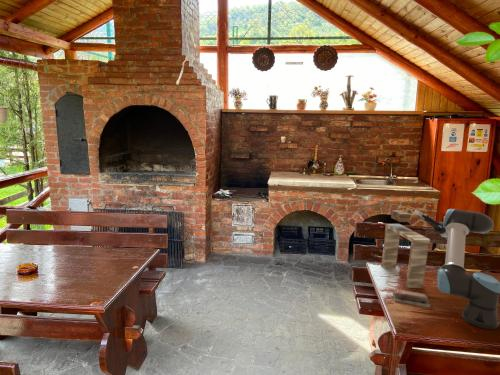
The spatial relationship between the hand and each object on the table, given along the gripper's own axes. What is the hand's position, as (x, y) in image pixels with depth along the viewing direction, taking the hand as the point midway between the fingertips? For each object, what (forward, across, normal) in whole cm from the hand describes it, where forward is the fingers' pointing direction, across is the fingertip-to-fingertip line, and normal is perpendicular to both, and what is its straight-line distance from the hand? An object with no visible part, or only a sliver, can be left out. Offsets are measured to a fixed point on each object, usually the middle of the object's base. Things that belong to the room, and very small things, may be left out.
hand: (416, 211), depth 223 cm
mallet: (0, 0, -6) cm, 6 cm away
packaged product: (-1, -38, -47) cm, 60 cm away
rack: (-11, -8, -40) cm, 43 cm away
